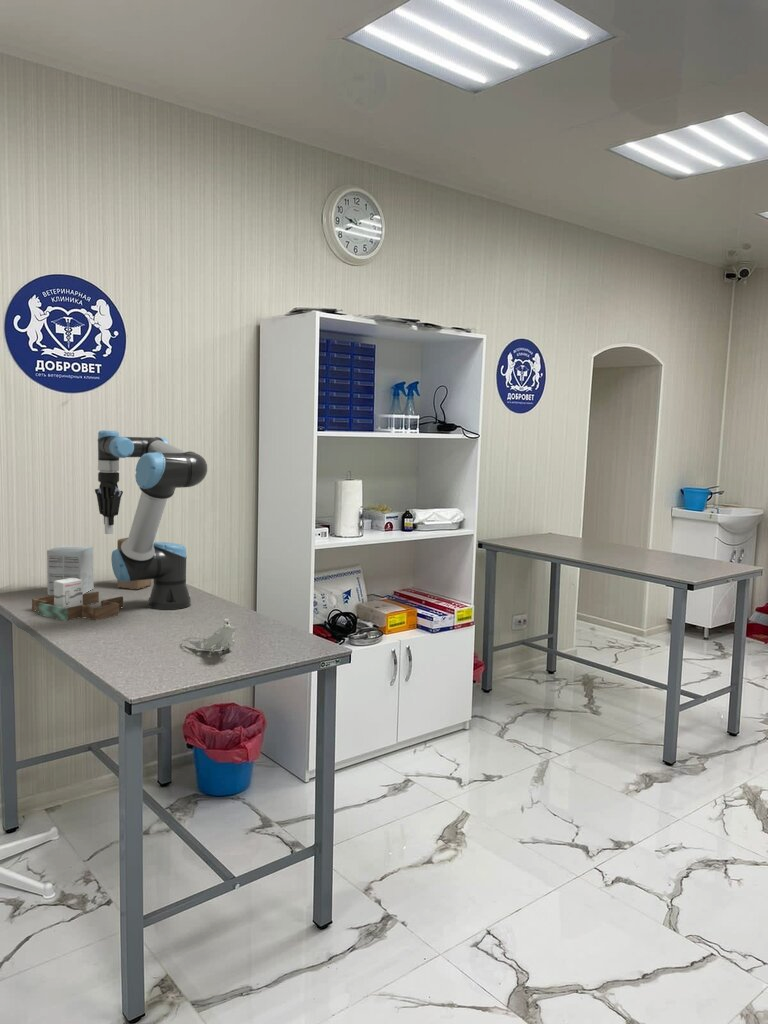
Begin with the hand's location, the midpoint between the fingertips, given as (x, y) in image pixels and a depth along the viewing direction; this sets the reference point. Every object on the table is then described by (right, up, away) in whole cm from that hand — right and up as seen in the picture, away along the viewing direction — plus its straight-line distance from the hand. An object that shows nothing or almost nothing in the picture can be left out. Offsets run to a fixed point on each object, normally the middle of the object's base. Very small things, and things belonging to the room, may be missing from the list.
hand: (108, 533), depth 298 cm
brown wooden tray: (-2, -27, -21) cm, 34 cm away
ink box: (-5, -27, -25) cm, 37 cm away
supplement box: (-18, -23, +8) cm, 30 cm away
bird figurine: (+55, -34, -64) cm, 91 cm away
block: (+3, -23, +21) cm, 31 cm away
